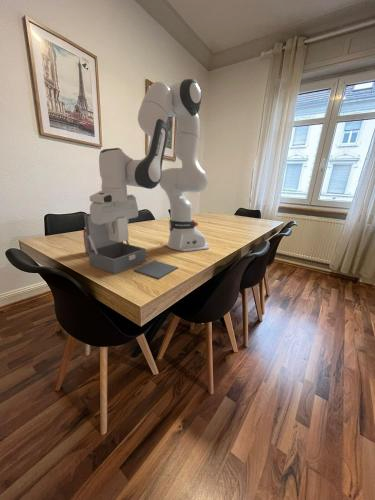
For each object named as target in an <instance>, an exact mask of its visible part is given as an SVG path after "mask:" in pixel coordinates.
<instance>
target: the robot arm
mask: <svg viewBox="0 0 375 500" xmlns="http://www.w3.org/2000/svg"><path fill="white" fill-rule="evenodd" d="M201 103H202V89H201V86H200V85H199V83H198V81H197V80H196V79H193V78H185V79H183V80H182V81H179V82H176V83H174V84H171V86H168V85H167V84H166V83H164V82H163V81H155V82H153V83H151V84H150V86H149V88H148V89H147V90H146V93H145V95H144V97H143V99H142V102H141V104H140V108H139V110H138V113H137V122H138V125H139V127H140V129H141V130H142V131H143V132H144V133H145V134H146V135H147V136H148V137H150V139H149V143H148V148H147V153H146V155H145V156H144V157H143V158H142V159H133V158H131V157H130V156H129V155H127V154H126V153H125V152H124V151H123V149H122V148H119V147H114V148H113V147H112V148H105V149H102V150H101V151H100V152H99V156H98V166H99V167H98V169H99V170H98V171H99V176H100V179H101V190H99V191H97V192H95V193H94V194H92V195H90V196H89V202H90V206H89V214H90V217H91V221H92V223H93V224H97V225H101V224H105V225H106V226H107V228H108V229H109V233H110V234H114V233H115V229H113V228H112V226H111V225H112V222H115V221H116V218H118V217H127V224H129V222H130V221H129V220H130V219H135V218H138V216H139V207H138V203H137V197H135V195H134V194H128V187H137V188H138V187H139V188H144V189H148V190H152V189H155V188H156V187H157V186H158V185H159V187H160V188H161V189H162V190H164V192H165V194H166V196H167V198H168V200H169V207H170V208H169V209H170V219H169V236H168V241H167V245H166V247H167V248H169V249H172V250H175V251H180V252H191V251H192V252H193V251H201V250H202V251H203V250H208V249H210V244H209V243H208V242H206V237H205V235H204V234H203V232H201V231H200V230H199V229H198V228H197V227H198V226H199V222H197V221H195V220H193V208H194V207H193V204H192V203H191V201H190V200H188V199H187V198H186V196H185V193H190V194H191V193H192V194H195V193H200V192H203V191H205V189H206V188H207V185H208V183H209V178H208V173H206V171H205V170H204V169H203V168H202V166H201V165H200V162H199V156H198V155H199V154H198V153H199V144H200V143H199V141H200V132H201V131H200V130H201V126H200V125H201V122H200V117H199V115H198V113H199V111H200V108H201ZM175 117H176V121H177V124H176V130H175V137H174V138H175V141H174V147H173V149H174V150H173V153H174V155H175V156H176V158H177V159H178V160H179V161H181V165H182V166H181V167H170V168H165V169H163V170H162V168H163V161H164V157H165V156H164V155H165V151H166V147H167V142H168V135H169V128H168V125H167V122H168V119H172V118H175ZM127 186H128V187H127Z"/></svg>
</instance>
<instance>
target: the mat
mask: <svg viewBox="0 0 375 500" xmlns="http://www.w3.org/2000/svg"><path fill="white" fill-rule="evenodd" d="M178 269H179V267H178V266H176V265H172V264H169V263H165V262H161V261H158V260H153V261H150V262H149V263H146V264H143V265H141V266H140V267H137V268H134V269H133V271H134V272H137V273H139V274H142V275H145V276H148V277H151V278H154V279H157V280H160V279H162V278H163V277H166V276H167V275H169V274H171V273H172V272H175V271H176V270H178Z"/></svg>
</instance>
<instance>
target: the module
mask: <svg viewBox="0 0 375 500" xmlns="http://www.w3.org/2000/svg"><path fill="white" fill-rule="evenodd" d="M128 224H129V223H128ZM128 224H127V217H118V218H116V221H115V222H112V225H111V226H112V228H113V229H115V233H114V234H110V233H109V240H113V241H117V242H122V241H123V242H126V240H128V241H129V227H128ZM108 231H109V229H108Z"/></svg>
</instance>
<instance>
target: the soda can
mask: <svg viewBox="0 0 375 500" xmlns="http://www.w3.org/2000/svg"><path fill="white" fill-rule="evenodd" d="M82 233H83V234H82V235H83V243H84V249H85V250H84V251H85V253H86V254H87V255H89V253H88V244H87V236H86V227H85V226H84V229H83V232H82Z"/></svg>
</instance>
